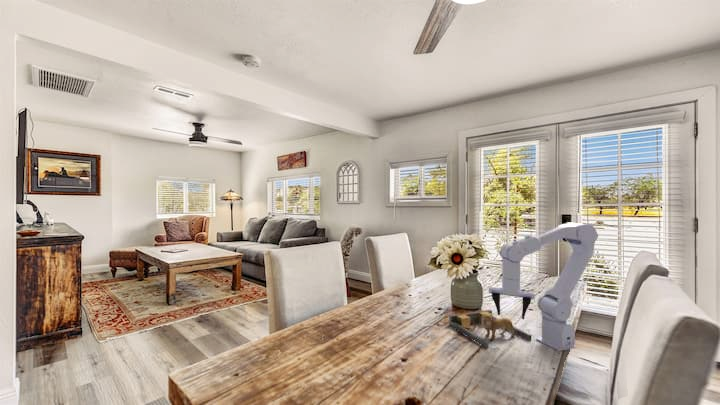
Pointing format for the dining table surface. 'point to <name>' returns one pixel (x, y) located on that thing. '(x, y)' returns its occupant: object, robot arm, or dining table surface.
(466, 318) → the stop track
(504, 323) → the lion figurine
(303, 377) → the dining table surface
